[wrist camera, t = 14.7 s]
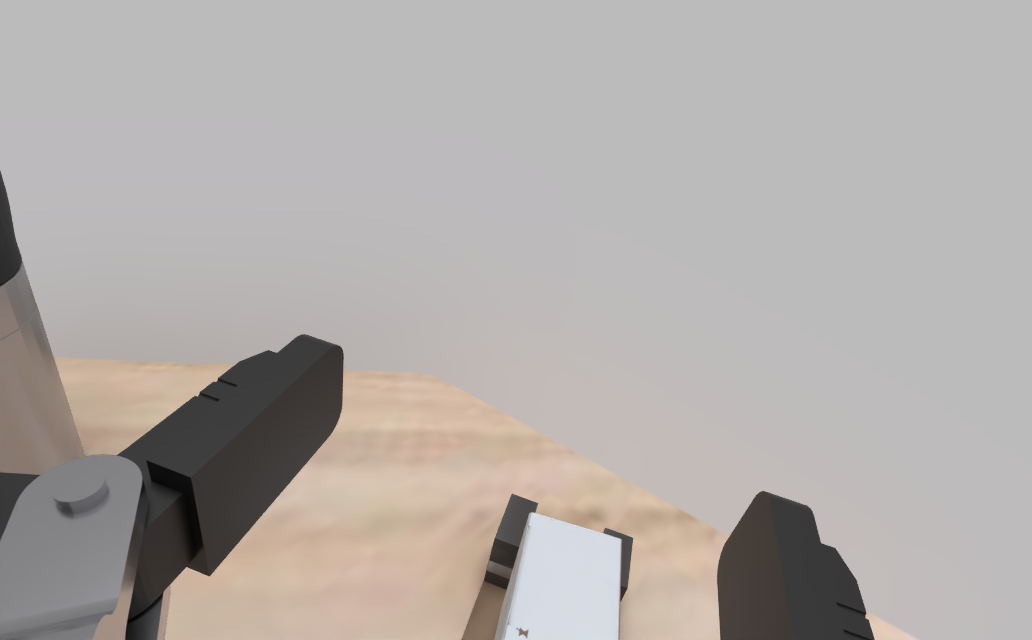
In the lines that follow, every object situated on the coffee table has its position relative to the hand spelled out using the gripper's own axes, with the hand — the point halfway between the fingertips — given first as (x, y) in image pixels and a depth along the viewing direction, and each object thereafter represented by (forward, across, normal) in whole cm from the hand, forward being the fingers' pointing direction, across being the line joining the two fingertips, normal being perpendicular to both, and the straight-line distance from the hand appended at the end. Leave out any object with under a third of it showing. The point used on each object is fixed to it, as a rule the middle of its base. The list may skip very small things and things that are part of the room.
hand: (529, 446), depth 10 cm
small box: (+10, -4, +29) cm, 30 cm away
